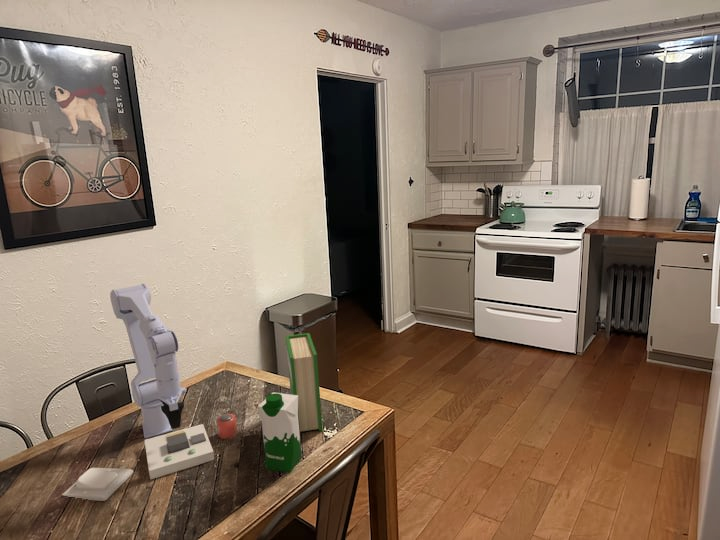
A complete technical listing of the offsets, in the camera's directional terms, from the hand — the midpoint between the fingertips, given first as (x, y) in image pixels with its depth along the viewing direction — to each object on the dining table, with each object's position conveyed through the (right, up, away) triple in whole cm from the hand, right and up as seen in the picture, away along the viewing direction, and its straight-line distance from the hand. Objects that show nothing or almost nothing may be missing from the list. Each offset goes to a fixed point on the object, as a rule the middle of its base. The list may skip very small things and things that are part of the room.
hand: (174, 422), depth 133 cm
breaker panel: (0, -9, +2) cm, 9 cm away
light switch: (-16, -13, -9) cm, 23 cm away
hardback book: (+34, -4, +17) cm, 38 cm away
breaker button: (0, -7, +2) cm, 7 cm away
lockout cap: (+12, -7, +11) cm, 17 cm away
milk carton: (+30, -9, -4) cm, 32 cm away
